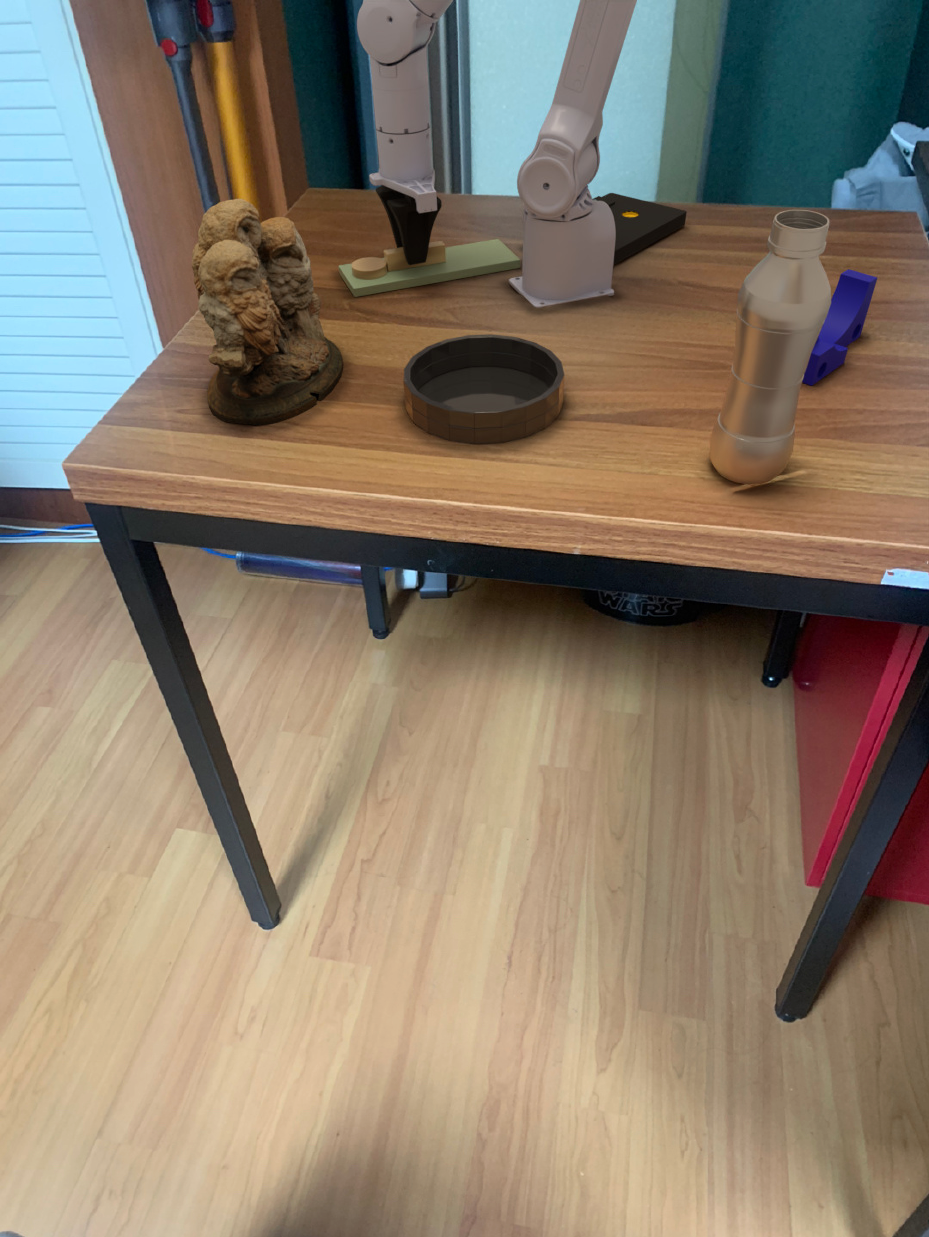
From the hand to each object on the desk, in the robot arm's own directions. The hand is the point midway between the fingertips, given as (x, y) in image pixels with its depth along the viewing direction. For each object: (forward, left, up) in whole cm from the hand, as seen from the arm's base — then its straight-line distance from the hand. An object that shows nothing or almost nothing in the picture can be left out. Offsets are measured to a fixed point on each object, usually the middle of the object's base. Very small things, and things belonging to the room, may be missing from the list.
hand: (412, 257), depth 102 cm
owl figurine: (+20, +20, -2) cm, 28 cm away
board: (-2, 0, -2) cm, 3 cm away
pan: (+3, +31, -2) cm, 31 cm away
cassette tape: (-25, -1, -2) cm, 25 cm away
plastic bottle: (-13, +49, -2) cm, 51 cm away
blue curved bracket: (-31, +35, -2) cm, 47 cm away
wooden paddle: (+2, 0, -1) cm, 2 cm away
